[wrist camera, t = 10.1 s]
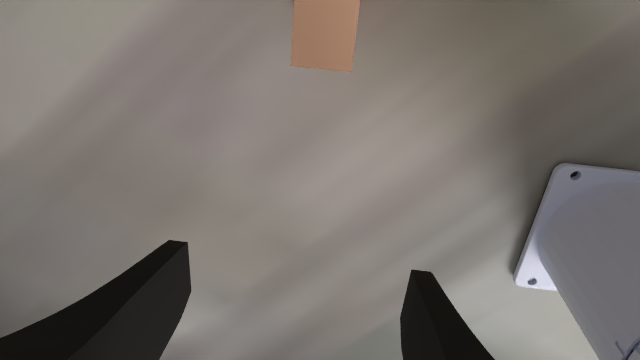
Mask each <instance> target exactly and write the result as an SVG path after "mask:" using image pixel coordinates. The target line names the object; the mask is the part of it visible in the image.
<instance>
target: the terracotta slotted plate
mask: <svg viewBox="0 0 640 360" xmlns="http://www.w3.org/2000/svg"><path fill="white" fill-rule="evenodd" d="M359 6H360V0H294V17H293V36H292V55H291V66H295V67H305V68H314V69H324V70H333V71H343V72H352V65H353V57H354V49H355V40H356V32H357V23H358V15H359Z"/></svg>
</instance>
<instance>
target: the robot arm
mask: <svg viewBox="0 0 640 360" xmlns="http://www.w3.org/2000/svg"><path fill="white" fill-rule="evenodd" d="M575 171H578V173H577V175H576V176H574V177H570V175H571V174H572V173H573V172H575ZM531 278H534V279H533V280H531V281H528V280H529V279H531ZM513 280H514V282H515V284H516V285H517V286H520V287H528V288H536V289H544V290H553V291H558V292H559V293H560V295H561V297H562V298H563V300H564V302H565V303H566V305H567V307H568V308H569V310H570V312H571V313H572V315H573V317H574V318H575V320H576V322H577V323H578V325H579V327H580V328H581V330H582V332H583V333H584V335H585V337H586V338H587V340H588V342H589V343H590V345H591V347H592V348H593V350H594V352H595V353H596V355H597V357H598V358H599V360H640V171H633V170H624V169H615V168H606V167H597V166H588V165H579V164H570V163H562V164H559V165H558V166H556V167H555V168H554V170H553V172H552V175H551V178H550V180H549V183H548V185H547V188H546V191H545V193H544V196H543V199H542V201H541V204H540V206H539V209H538V212H537V214H536V217H535V220H534V222H533V225H532V228H531V230H530V233H529V235H528V238H527V241H526V243H525V246H524V249H523V251H522V254H521V256H520V259H519V262H518V264H517V267H516V270H515V272H514V275H513ZM190 293H191V280H190V267H189V254H188V242H181V241H173V240H169V241H167V242H166V243H164V244H163V245H161V246H160V247H158V248H157V249H156V250H154V251H153V252H152V253H150V254H149V255H147V256H146V257H145V258H143V259H142V260H141V261H139V262H138V263H136V264H135V265H133V266H132V267H131V268H129V269H128V270H126V271H125V272H123V273H122V274H121V275H119V276H118V277H116V278H115V279H113V280H111V281H110V282H108V283H107V284H105V285H104V286H102V287H100V288H99V289H97V290H96V291H94V292H93V293H91V294H89V295H88V296H86V297H84V298H83V299H81V300H79V301H77V302H76V303H74V304H72V305H70V306H68V307H66V308H64V309H63V310H61V311H59V312H57V313H55V314H53V315H51V316H49V317H47V318H45V319H42V320H40V321H38V322H36V323H34V324H32V325H29V326H27V327H25V328H23V329H21V330H19V331H16V332H14V333H12V334H9V335H7V336H4V337H2V338H0V360H159V359H160V357H161V355H162V353H163V351H164V349H165V348H166V346H167V344H168V342H169V340H170V338H171V336H172V335H173V333H174V331H175V329H176V327H177V325H178V323H179V321H180V319H181V317H182V314H183V312H184V309H185V307H186V304H187V301H188V299H189V296H190ZM400 324H401V348H402V355H403V360H495V359H494V358H493V357H492V356H491V355H490V354H489V352H488V351H487V350H486V349H485V348H484V346H483V345H482V344H481V343H480V341H479V340H478V339H477V338H476V336H475V335H474V334H473V333H472V331H471V330H470V329H469V327H468V326H467V324H466V323H465V322H464V320H463V319H462V318H461V316H460V315H459V313H458V312H457V311H456V309H455V308H454V306H453V305H452V303H451V302H450V300H449V299H448V297H447V296H446V294H445V293H444V291H443V290H442V288H441V286H440V285H439V283H438V282H437V280H436V278H435V277H434V275H433V274H432V273H431V272H427V271H419V270H411V274H410V278H409V282H408V287H407V291H406V295H405V299H404V304H403V308H402V312H401V316H400Z"/></svg>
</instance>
